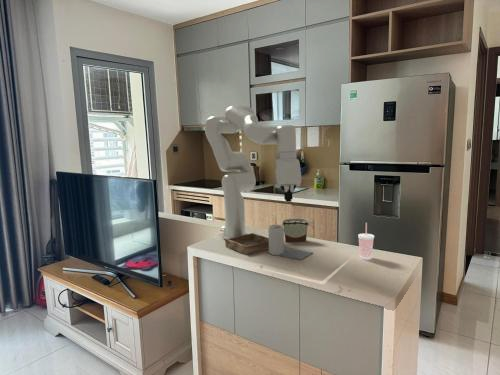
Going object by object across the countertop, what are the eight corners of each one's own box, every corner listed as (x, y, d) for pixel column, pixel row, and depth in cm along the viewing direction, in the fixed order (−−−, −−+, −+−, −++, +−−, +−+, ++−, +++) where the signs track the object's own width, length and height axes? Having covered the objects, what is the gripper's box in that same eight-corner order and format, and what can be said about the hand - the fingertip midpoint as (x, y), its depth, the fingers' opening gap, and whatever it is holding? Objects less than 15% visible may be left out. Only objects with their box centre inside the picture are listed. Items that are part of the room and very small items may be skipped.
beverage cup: (362, 254, 145) (362, 220, 143) (376, 257, 141) (377, 222, 139) (354, 257, 141) (355, 223, 139) (369, 261, 137) (369, 225, 135)
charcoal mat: (279, 255, 145) (279, 254, 145) (291, 249, 153) (291, 248, 153) (301, 260, 140) (301, 259, 140) (312, 253, 148) (312, 252, 148)
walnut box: (225, 246, 160) (225, 239, 159) (252, 240, 169) (252, 233, 169) (246, 255, 147) (246, 246, 147) (274, 247, 157) (274, 239, 156)
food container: (308, 238, 169) (308, 218, 168) (309, 242, 163) (309, 221, 162) (282, 238, 170) (282, 218, 169) (282, 242, 164) (281, 221, 163)
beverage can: (273, 257, 145) (272, 228, 143) (266, 252, 151) (265, 225, 149) (286, 255, 148) (286, 226, 146) (279, 250, 153) (279, 223, 152)
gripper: (271, 157, 139) (272, 203, 141) (307, 155, 141) (309, 201, 143) (267, 157, 146) (268, 201, 148) (302, 155, 149) (303, 198, 151)
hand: (288, 201), depth 146 cm, fingers closed
